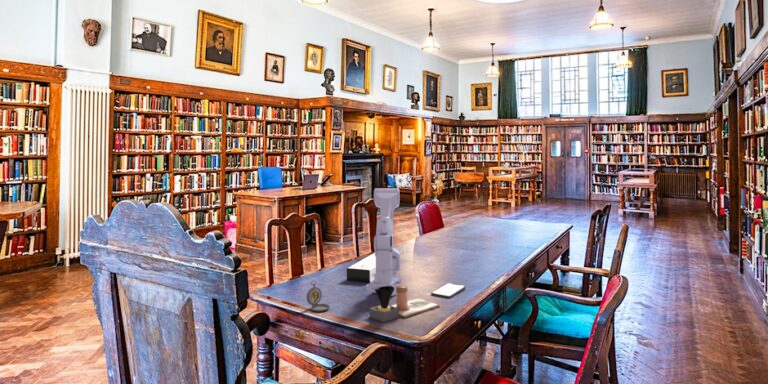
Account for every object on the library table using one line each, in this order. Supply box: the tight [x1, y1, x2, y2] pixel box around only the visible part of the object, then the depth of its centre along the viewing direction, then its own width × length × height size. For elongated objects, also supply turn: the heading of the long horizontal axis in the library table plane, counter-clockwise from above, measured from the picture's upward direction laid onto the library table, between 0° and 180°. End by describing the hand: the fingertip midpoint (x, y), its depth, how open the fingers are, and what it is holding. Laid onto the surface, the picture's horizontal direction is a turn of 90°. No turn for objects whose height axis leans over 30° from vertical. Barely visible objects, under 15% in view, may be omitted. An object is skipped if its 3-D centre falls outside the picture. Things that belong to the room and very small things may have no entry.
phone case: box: [430, 282, 466, 299], centre depth 184 cm, size 9×2×16 cm
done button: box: [378, 305, 391, 312], centre depth 155 cm, size 4×4×3 cm
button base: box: [369, 304, 400, 323], centre depth 155 cm, size 7×7×3 cm
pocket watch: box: [305, 280, 330, 313], centre depth 164 cm, size 8×8×10 cm
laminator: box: [346, 252, 376, 284], centre depth 215 cm, size 34×12×6 cm, turn 160°
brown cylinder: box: [395, 284, 408, 311], centre depth 161 cm, size 4×4×8 cm
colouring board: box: [390, 297, 440, 319], centre depth 164 cm, size 12×18×1 cm, turn 131°
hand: (384, 307), depth 155 cm, fingers closed, pressing on done button
